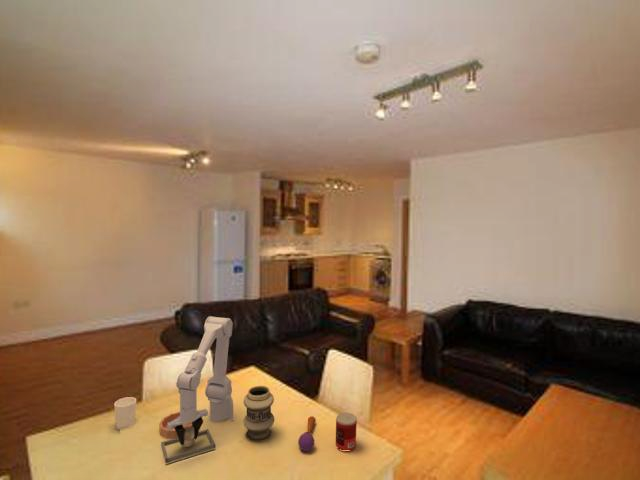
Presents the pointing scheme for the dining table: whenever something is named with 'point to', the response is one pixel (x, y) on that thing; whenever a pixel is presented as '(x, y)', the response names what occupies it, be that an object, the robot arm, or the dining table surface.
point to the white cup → (125, 412)
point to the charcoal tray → (185, 454)
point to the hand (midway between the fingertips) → (188, 440)
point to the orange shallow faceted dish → (172, 433)
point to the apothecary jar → (258, 413)
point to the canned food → (346, 431)
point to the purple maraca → (307, 436)
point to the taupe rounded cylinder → (188, 436)
